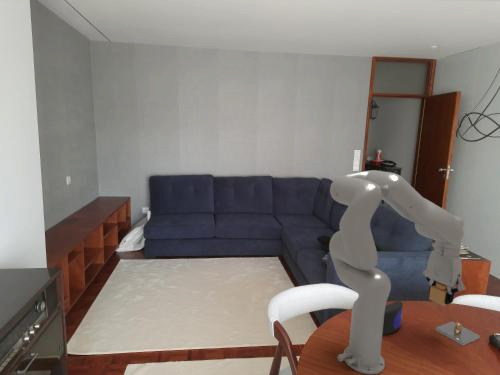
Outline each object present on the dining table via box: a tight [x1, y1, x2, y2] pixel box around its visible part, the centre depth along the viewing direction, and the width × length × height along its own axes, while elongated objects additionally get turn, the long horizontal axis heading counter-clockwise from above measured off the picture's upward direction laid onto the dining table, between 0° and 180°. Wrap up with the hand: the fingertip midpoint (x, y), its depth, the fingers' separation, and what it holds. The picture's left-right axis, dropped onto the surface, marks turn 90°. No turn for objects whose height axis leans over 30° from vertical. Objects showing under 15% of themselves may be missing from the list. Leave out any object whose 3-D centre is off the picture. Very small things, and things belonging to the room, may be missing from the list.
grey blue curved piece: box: [382, 300, 404, 336], centre depth 121 cm, size 16×5×9 cm, turn 123°
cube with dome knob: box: [428, 282, 452, 307], centre depth 115 cm, size 5×5×7 cm
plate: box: [435, 320, 481, 347], centre depth 120 cm, size 10×10×4 cm
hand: (440, 299), depth 115 cm, fingers closed on cube with dome knob, 5 cm apart
